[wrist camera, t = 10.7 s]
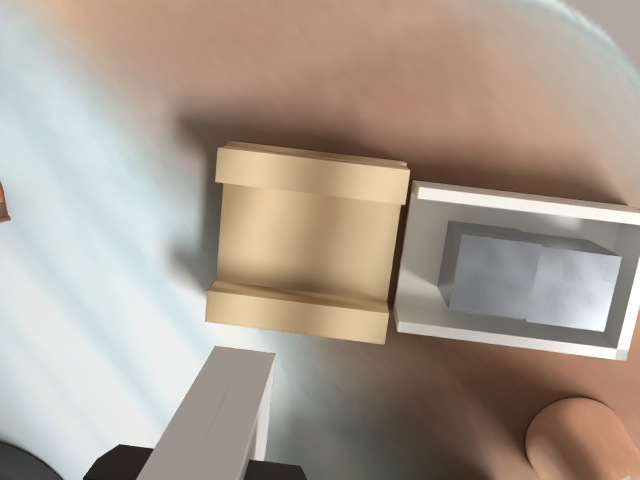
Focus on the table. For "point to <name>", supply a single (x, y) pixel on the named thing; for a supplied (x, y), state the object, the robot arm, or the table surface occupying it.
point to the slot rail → (306, 241)
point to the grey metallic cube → (488, 269)
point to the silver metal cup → (581, 443)
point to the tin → (3, 207)
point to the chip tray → (528, 216)
